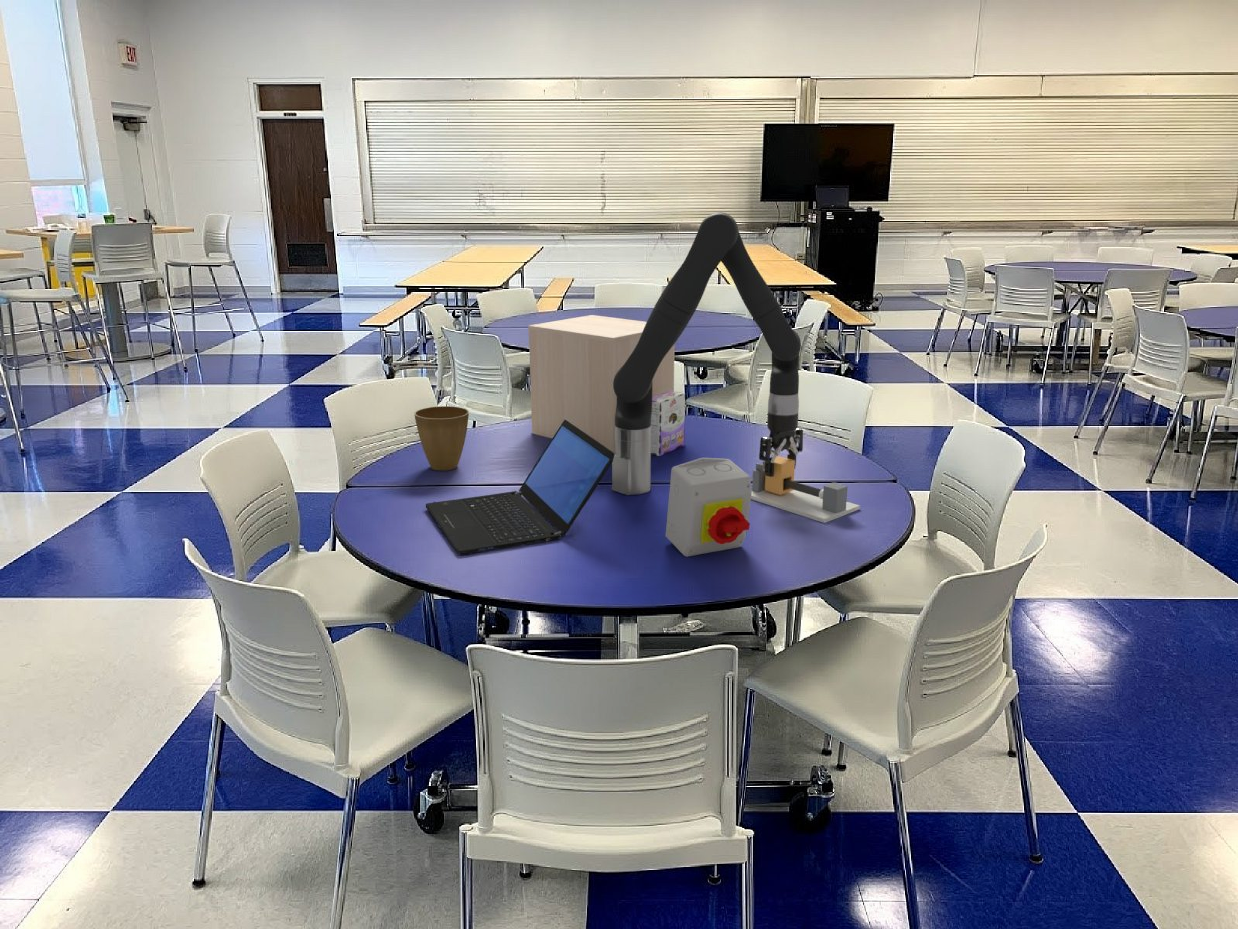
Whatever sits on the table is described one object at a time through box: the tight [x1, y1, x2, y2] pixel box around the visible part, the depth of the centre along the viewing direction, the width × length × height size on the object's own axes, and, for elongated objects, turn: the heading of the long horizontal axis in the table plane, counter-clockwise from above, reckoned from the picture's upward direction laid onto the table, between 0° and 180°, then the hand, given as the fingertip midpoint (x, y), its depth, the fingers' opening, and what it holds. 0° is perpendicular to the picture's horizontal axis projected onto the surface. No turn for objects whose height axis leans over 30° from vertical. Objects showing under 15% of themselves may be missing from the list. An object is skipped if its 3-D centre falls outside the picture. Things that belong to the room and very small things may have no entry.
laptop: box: [425, 420, 615, 556], centre depth 222 cm, size 33×38×19 cm
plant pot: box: [413, 405, 470, 471], centre depth 263 cm, size 15×15×16 cm
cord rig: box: [751, 461, 861, 524], centre depth 234 cm, size 25×14×8 cm, turn 42°
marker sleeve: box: [765, 455, 796, 495], centre depth 239 cm, size 5×5×8 cm
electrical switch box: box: [665, 457, 752, 558], centre depth 203 cm, size 15×15×20 cm
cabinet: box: [527, 314, 676, 453], centre depth 294 cm, size 35×29×34 cm
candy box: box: [651, 391, 686, 457], centre depth 279 cm, size 14×6×16 cm, turn 144°
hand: (780, 472), depth 239 cm, fingers open, 8 cm apart
